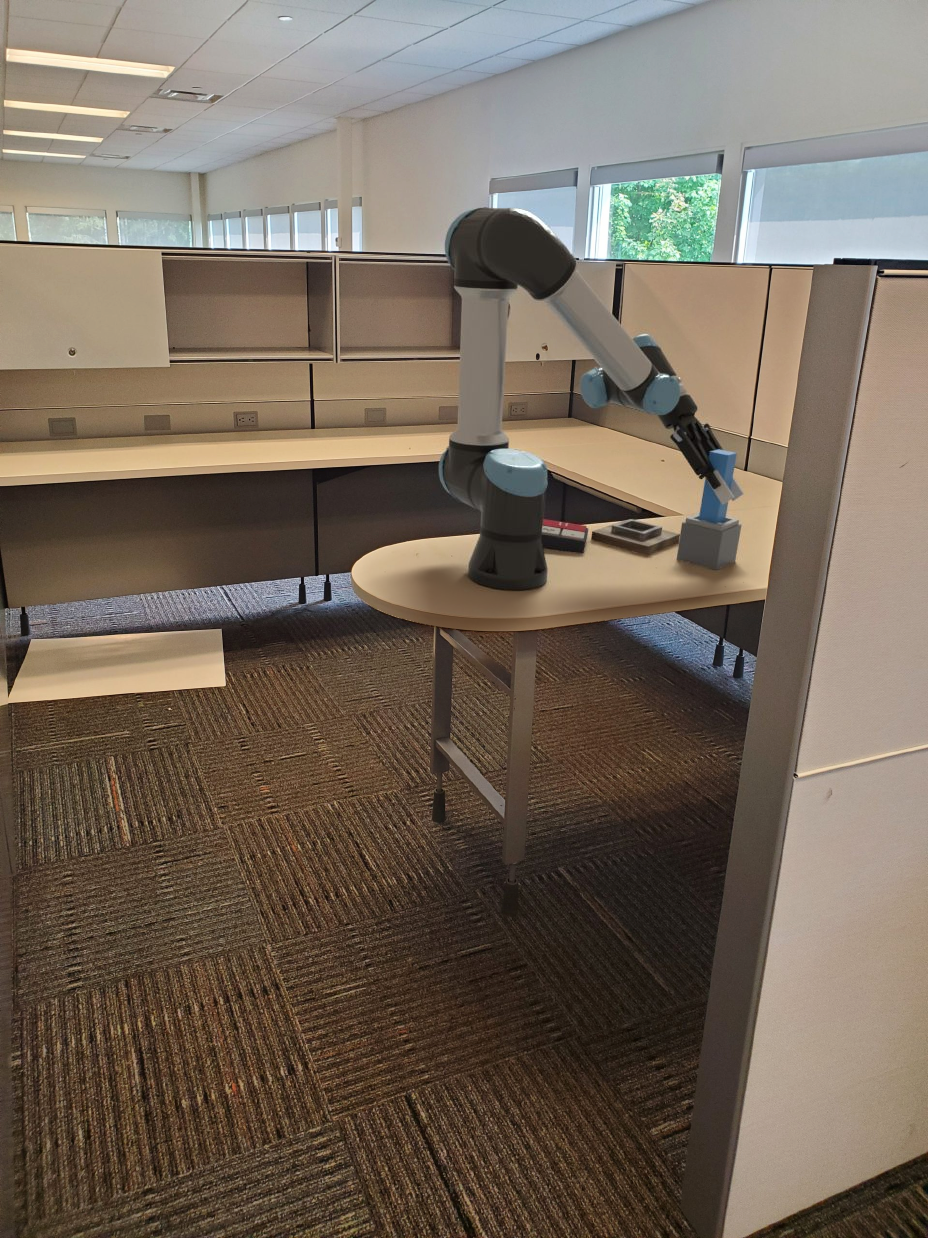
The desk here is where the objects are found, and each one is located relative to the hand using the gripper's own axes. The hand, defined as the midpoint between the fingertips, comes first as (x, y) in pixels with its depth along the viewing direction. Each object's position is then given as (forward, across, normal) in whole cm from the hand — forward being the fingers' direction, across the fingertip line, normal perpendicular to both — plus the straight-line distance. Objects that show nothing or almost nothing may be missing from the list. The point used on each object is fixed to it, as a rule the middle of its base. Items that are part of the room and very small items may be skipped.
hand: (733, 498), depth 189 cm
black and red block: (-13, -15, +34) cm, 39 cm away
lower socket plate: (-5, 0, +25) cm, 25 cm away
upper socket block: (+7, 0, +12) cm, 14 cm away
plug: (+1, 0, +6) cm, 6 cm away
